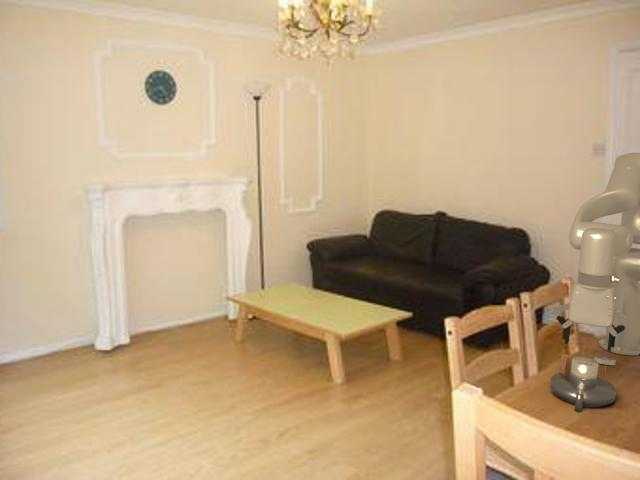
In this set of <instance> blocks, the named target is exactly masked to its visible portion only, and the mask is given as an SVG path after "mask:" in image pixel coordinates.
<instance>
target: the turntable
mask: <svg viewBox="0 0 640 480" xmlns="http://www.w3.org/2000/svg"><path fill="white" fill-rule="evenodd" d="M572 359H573V358H572V356H570V355H568V354H565V353H564V354H560V362H559V363H560V364H559V372H557V373H555V374H553V375H552V376H550V382H549V388H550V390H551V392H552V393H554V395H556V396H557V397H558V396H559V397H558V398H560V397H561V398H563V399H566V400H569V401H572V402H575V401H576V393H577V392H579V390H582V393H583V394H584V397H583V404H584V405H595V406H599V405H604V406H607V405H610V404H612V403H614V402H615V400H616V394H617V389H616V387H615V386H614V384H613V383H610V382H609V381H608V380H606V379H603V378H601V377H599V376H597V381H596V388H594V389H581V388H577V387H575V386H573V385H571V384H570V375H571V366H572ZM561 398H560V399H561ZM563 399H562V400H563Z"/></svg>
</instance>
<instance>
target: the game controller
mask: <svg viewBox="0 0 640 480" xmlns="http://www.w3.org/2000/svg"><path fill="white" fill-rule="evenodd" d="M593 360H595V361H597V362H598V364H600V365H601V364H602V365H604V375H607V374H606V373H607V372H606V370H607V369H606V368H607V366H616V363H617V360H615V359H612V358H611V357H610V358H608V357H606V356H604V357H603V356H600V357H598V356H594V357H593ZM606 365H607V366H606Z"/></svg>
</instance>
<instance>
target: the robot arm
mask: <svg viewBox="0 0 640 480" xmlns="http://www.w3.org/2000/svg"><path fill="white" fill-rule="evenodd" d="M613 165H614V167H613V169H612V171H611V174H610V177H609V179H608V182H607V185H606V187H605V190H604V191H603V192H601V193H599V194H597V195H595V196H594V197H592V198H590V199H589V200H588V201H586V202H585V203H583V204H582V205H581V206H580V208H579V209H578V211H577V212H576V214H575V217H574V219H573V222H572V224H571V227H570V230H569V235H568V240H569V244H570V245H571V247H572V248H574V249H575V250H578V251H580V252H579V253H580V254H579V261H578V270H577V271H578V272H577V280H575V281H574V282H573V285H572V288H571V293H570V299H569V303H565V304H562V305H561V304H560V305H557V306H556V307H554V308H553V310H552V312H553V313H554V316H555V319H556V320H557V321H558V323H559V324H560V325H561V326H562V328H563V330H562V331H563V332H562V340H564V344H566V345H567V344H569V342H570V337H571V336H570V335H571V325H572V324H573V323H575V324H581V325H587V326H592V327H593V326H594V327H600V328H606V330H605V337H604V338H601V339H600V340H599V341H598V342H599V343H598V345H599V347H600V348H602V349H604V350H605V351H608V352H611V353H613V354H616V355H617V354H618V355H622V356H623V355H624V356H640V355H639V354H640V248H639V247H633V244H634V245H640V152H628V153H624V154H620V155H618V156H617V157H616V158H615V159H614V164H613ZM620 213H621V219H620V224H612V223H607V222H597V221H596V220H597V219H601V218H604V217H607V216H611V215H612V216H613V215H616V214H617V215H618V214H620ZM564 311H568V315H567V316H568V317H567V318H564V316H563V315H562V312H564Z"/></svg>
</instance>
